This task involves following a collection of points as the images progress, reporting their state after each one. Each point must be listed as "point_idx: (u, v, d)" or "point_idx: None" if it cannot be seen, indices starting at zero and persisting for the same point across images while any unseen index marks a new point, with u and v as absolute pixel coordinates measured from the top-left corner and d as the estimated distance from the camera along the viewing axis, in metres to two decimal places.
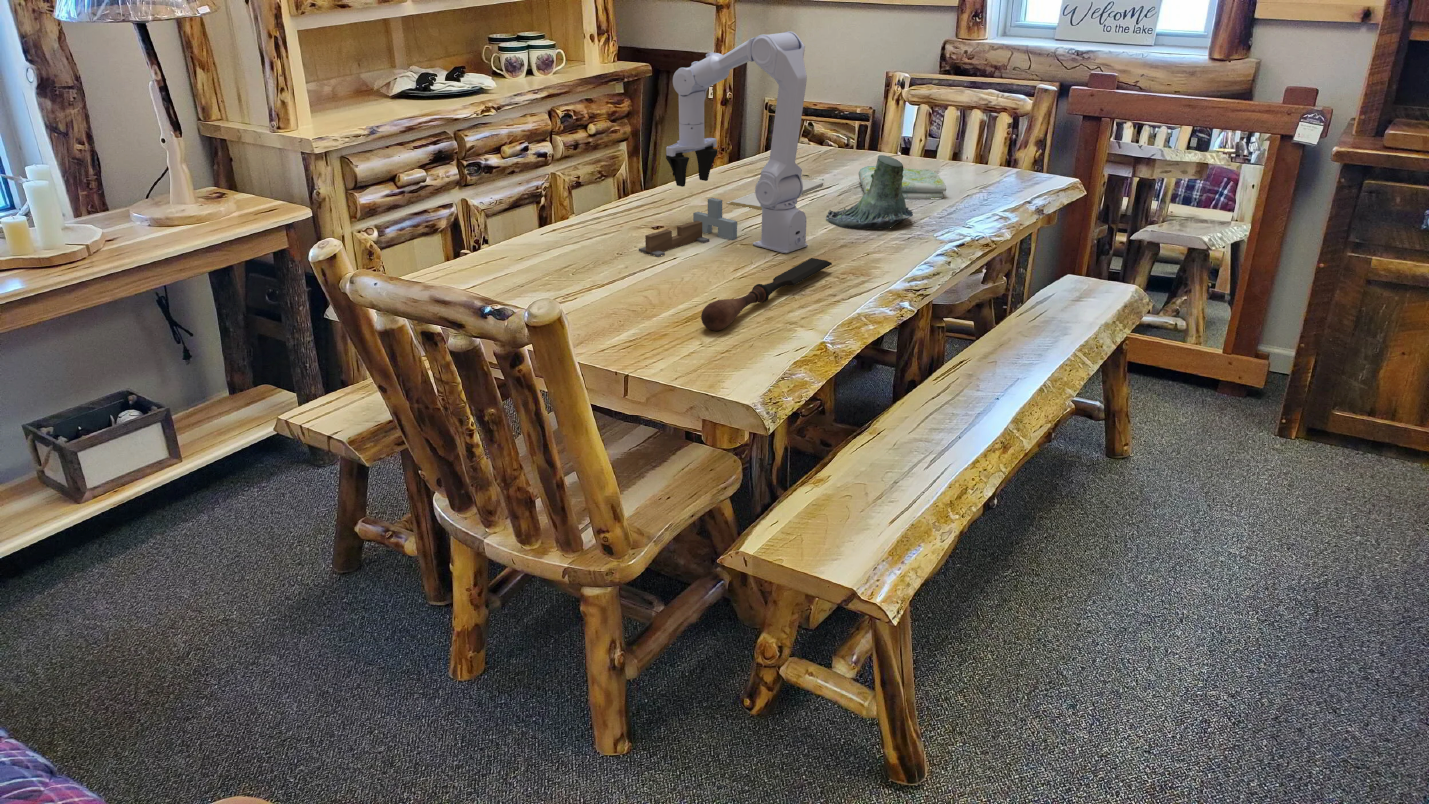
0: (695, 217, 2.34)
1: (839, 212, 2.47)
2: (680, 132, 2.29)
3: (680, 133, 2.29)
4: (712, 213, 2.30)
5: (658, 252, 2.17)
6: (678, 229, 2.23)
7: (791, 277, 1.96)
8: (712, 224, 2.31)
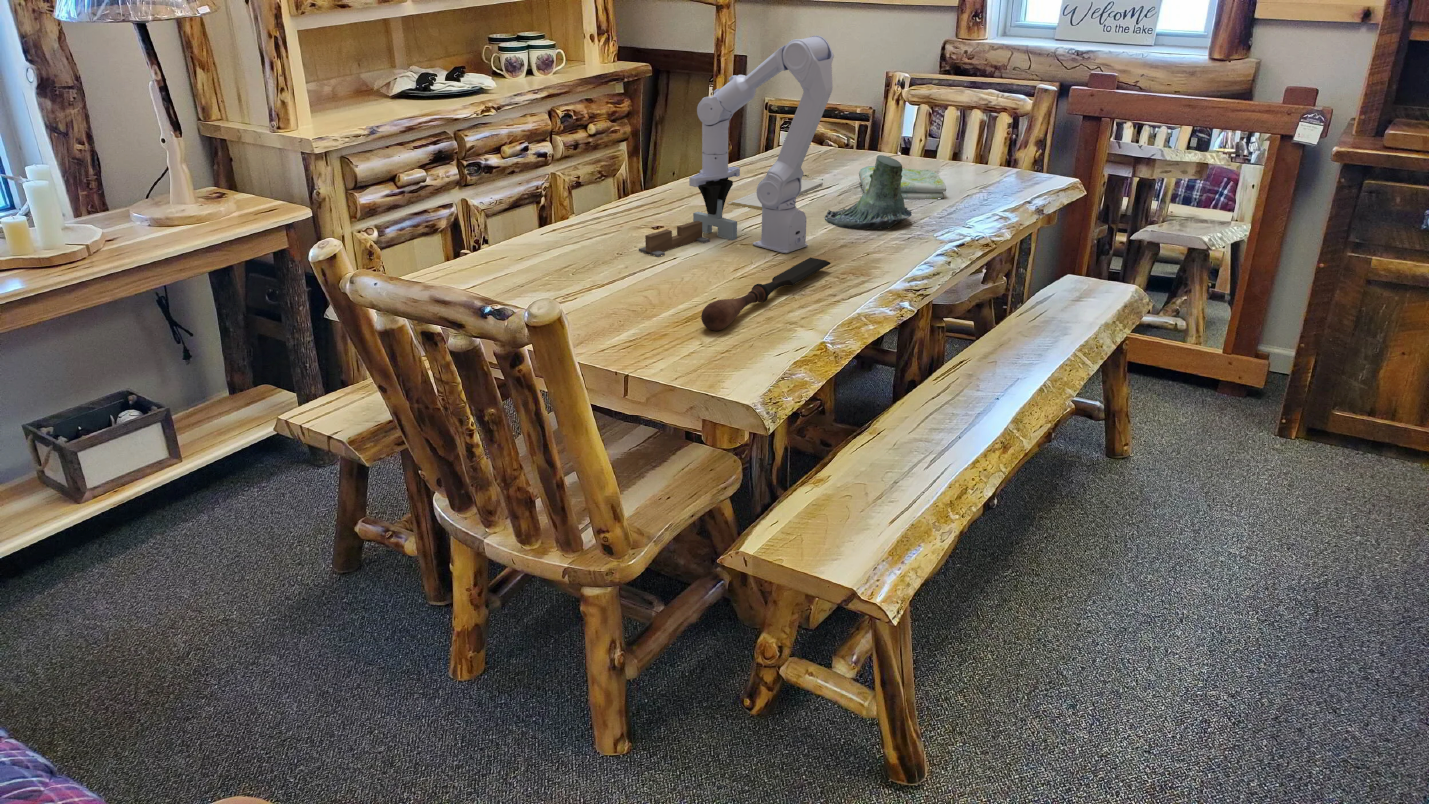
0: (695, 217, 2.34)
1: (838, 212, 2.47)
2: (703, 162, 2.24)
3: (703, 163, 2.24)
4: None
5: (658, 252, 2.17)
6: (678, 229, 2.23)
7: (790, 277, 1.96)
8: (712, 224, 2.31)
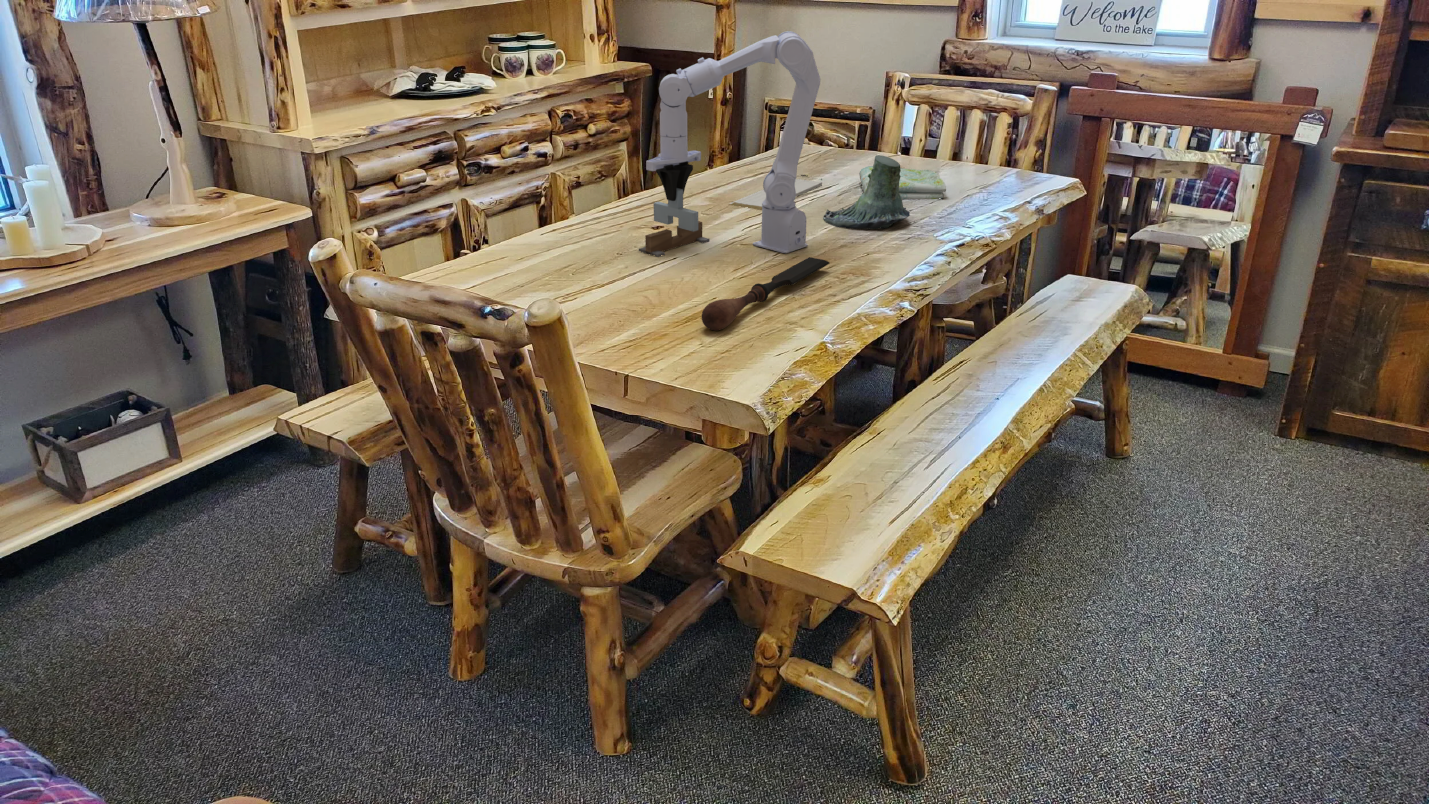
0: (655, 207, 2.23)
1: (837, 212, 2.48)
2: (661, 145, 2.13)
3: (661, 146, 2.13)
4: (673, 203, 2.19)
5: (658, 252, 2.17)
6: (678, 229, 2.23)
7: (790, 276, 1.96)
8: (673, 215, 2.20)
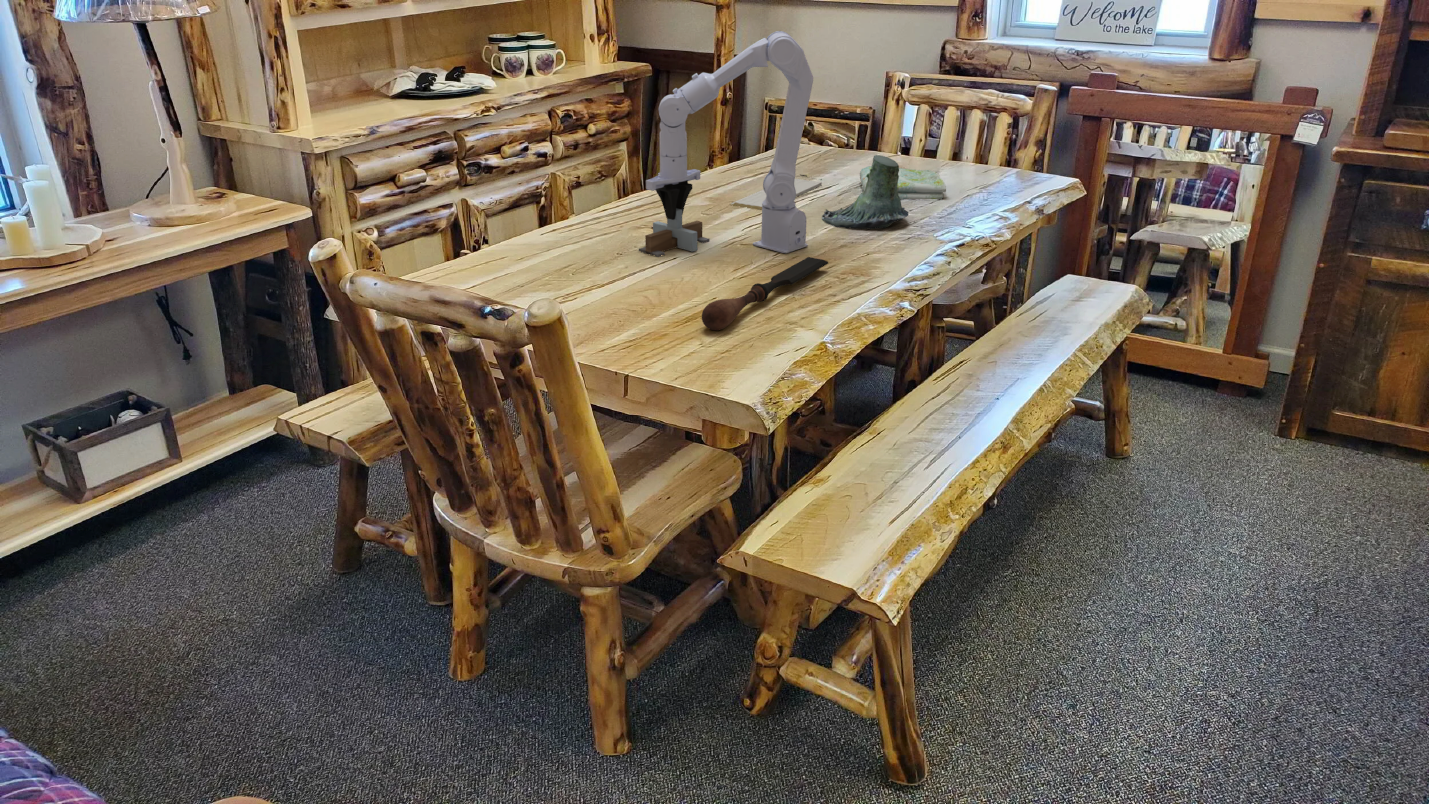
0: (654, 227, 2.25)
1: (835, 212, 2.48)
2: (661, 164, 2.15)
3: (661, 165, 2.15)
4: (672, 223, 2.21)
5: (658, 252, 2.17)
6: None
7: (789, 276, 1.96)
8: (672, 234, 2.22)
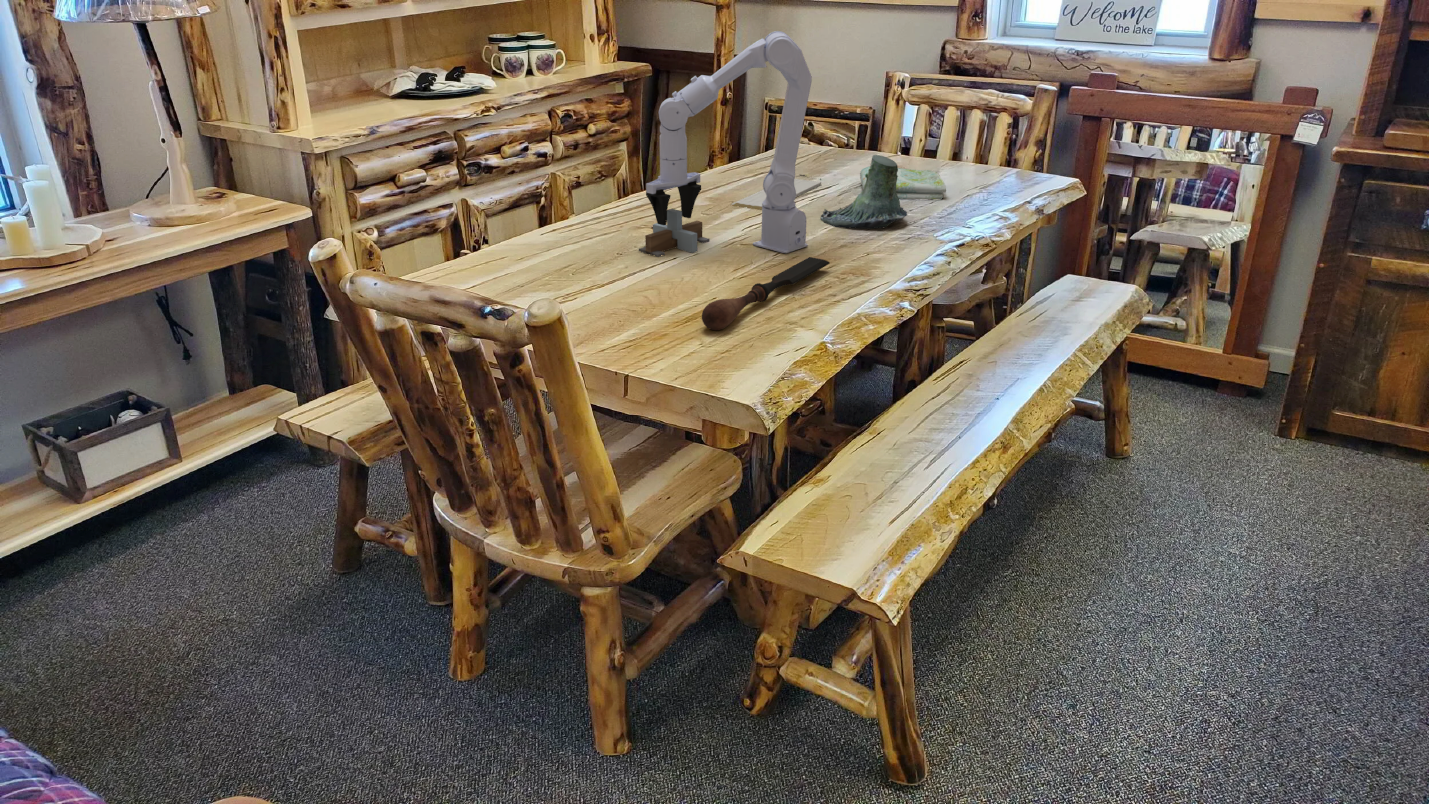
0: (654, 228, 2.25)
1: (834, 212, 2.48)
2: (661, 168, 2.15)
3: (661, 169, 2.15)
4: (672, 225, 2.21)
5: (658, 252, 2.17)
6: None
7: (790, 276, 1.96)
8: (672, 236, 2.22)
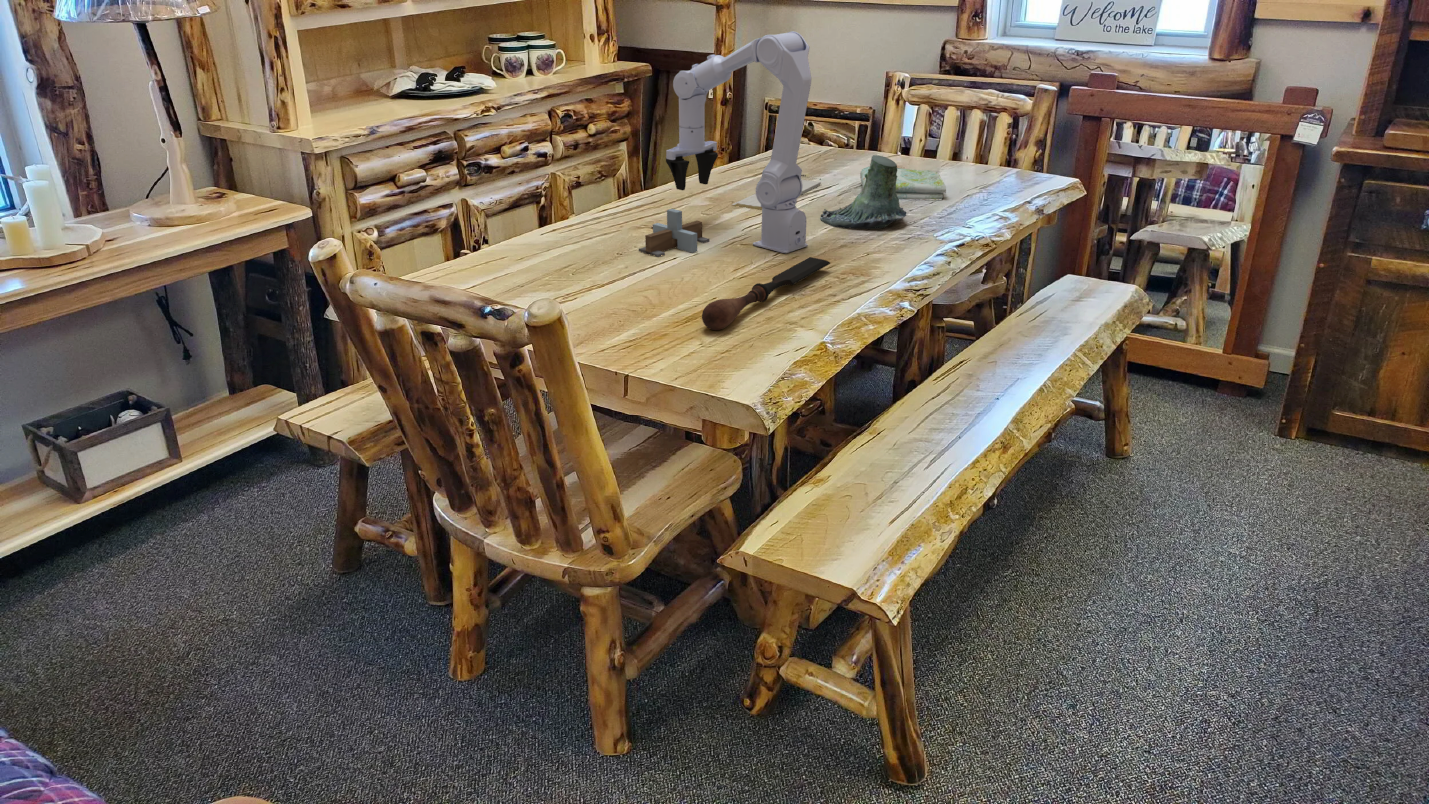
0: (654, 228, 2.25)
1: (834, 212, 2.48)
2: (680, 135, 2.28)
3: (680, 136, 2.28)
4: (672, 225, 2.21)
5: (658, 252, 2.17)
6: None
7: (790, 276, 1.96)
8: (672, 236, 2.22)
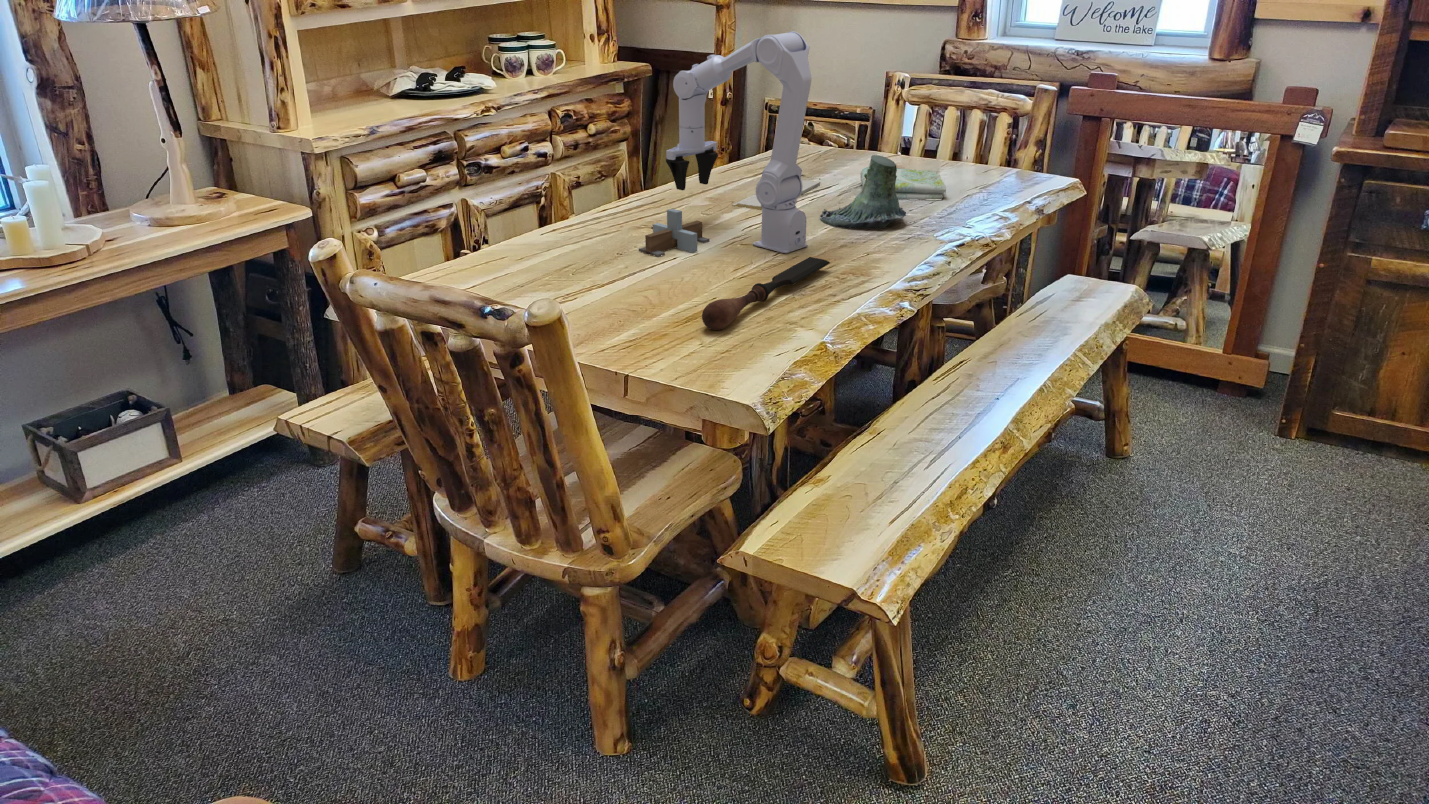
0: (654, 228, 2.25)
1: (834, 212, 2.48)
2: (680, 135, 2.28)
3: (680, 136, 2.28)
4: (672, 225, 2.21)
5: (658, 252, 2.17)
6: None
7: (790, 276, 1.96)
8: (672, 236, 2.22)
